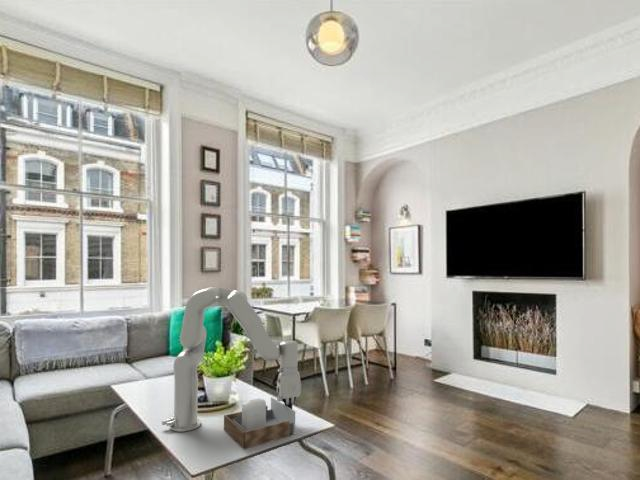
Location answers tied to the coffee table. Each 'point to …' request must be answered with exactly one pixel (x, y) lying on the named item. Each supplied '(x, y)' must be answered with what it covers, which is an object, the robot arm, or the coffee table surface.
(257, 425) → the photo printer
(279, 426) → the walnut housing
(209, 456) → the coffee table surface
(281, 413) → the sliding tray
